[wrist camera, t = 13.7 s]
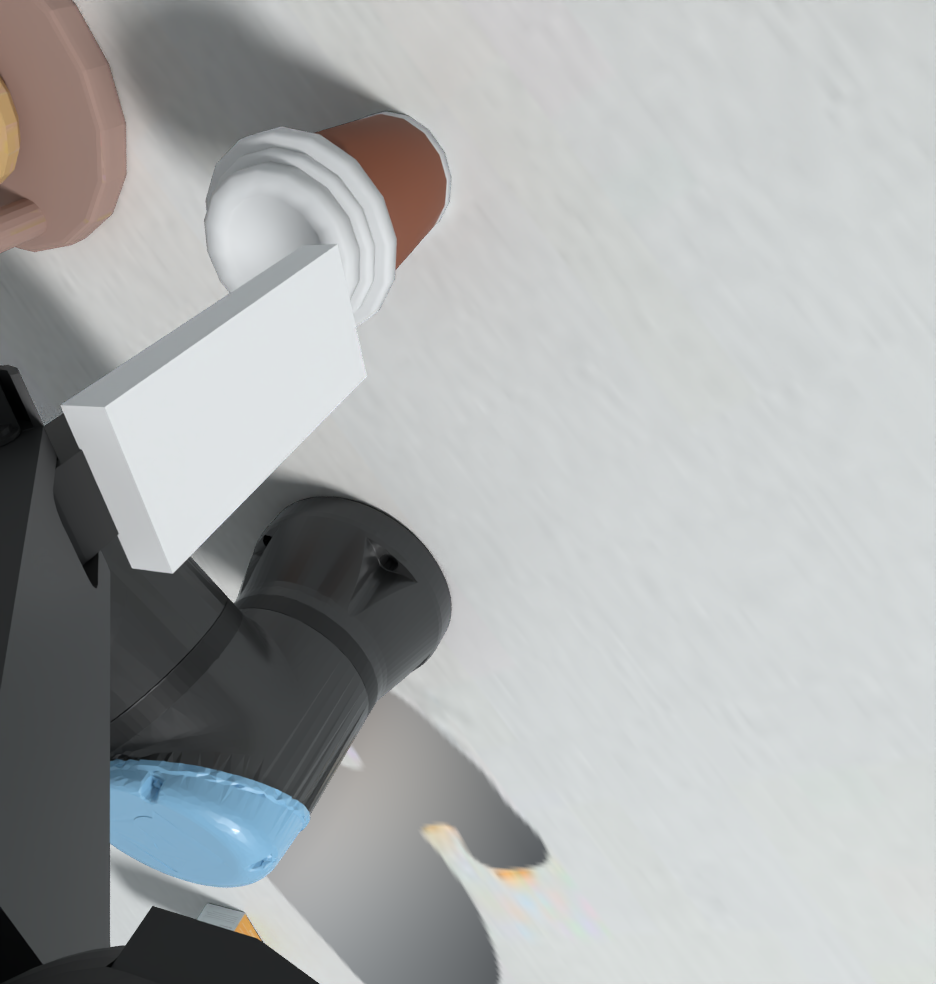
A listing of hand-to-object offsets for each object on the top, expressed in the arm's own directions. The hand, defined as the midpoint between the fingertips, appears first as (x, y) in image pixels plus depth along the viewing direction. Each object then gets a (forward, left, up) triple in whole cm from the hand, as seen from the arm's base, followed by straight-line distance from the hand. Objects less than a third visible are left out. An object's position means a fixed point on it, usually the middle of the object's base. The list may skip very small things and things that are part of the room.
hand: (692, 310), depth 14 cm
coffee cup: (-20, -5, -28) cm, 35 cm away
